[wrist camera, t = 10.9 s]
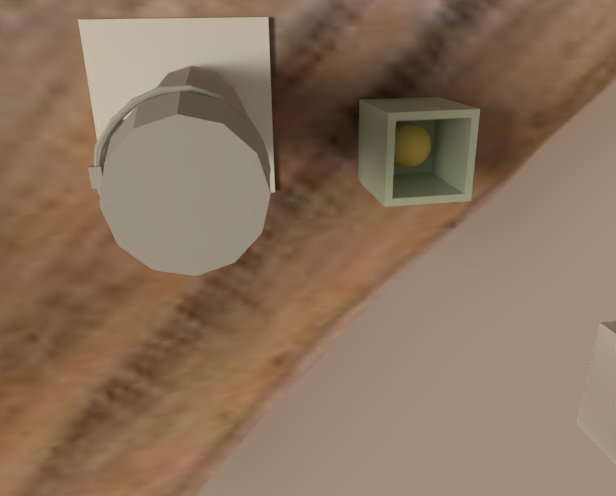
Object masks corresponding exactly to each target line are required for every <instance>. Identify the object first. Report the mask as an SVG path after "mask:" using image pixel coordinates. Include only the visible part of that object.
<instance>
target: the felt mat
mask: <svg viewBox="0 0 616 496" xmlns="http://www.w3.org/2000/svg"><path fill="white" fill-rule="evenodd" d="M78 22H79V28H80V35H81V41H82V47H83V54H84V60H85V66H86V73H87V79H88V85H89V92H90V98H91V104H92V111H93V117H94V123H95V130H96V136H97V141H98V140H99V138H100V136H101V135H102V133H103V131H104V129H105V128H106V126H107V124H108V123H109V121H110V119H111V118H112V117H113V116H115V115H116V114H117V113H118V112H119V111H120V110H121V109H122V108H123V107H124V106H125V105H126V104H127V103H128V102H129V101H130V100H131V99H133V98H135V97H137V96H139V95H141V94H144V93H146V92H148V91H150V90H152V89H155V88H156V87H157V86H158V85H159V84H160V82H161V81H162V80H163V79H164V78H165V76H166V75H167V74H168V73H170V72H173V71H176V70H179V69H182V68H185V67H188V66H191V65H192V66H196V67H200V68H205V69H209V70H213V71H216V72H217V73H218V74H219V75H220V76H221V77H223V78H224V79H225V80H226V81H227V82H228V83H229V84H230V85H231V86H232V87H234V89H235V91H236V93H237V95H238V97H239V99H240V101H241V103H242V105H243V107H244V109H245V111H246V113H247V115H248V116H249V118H250V120H251V121H252V123H253V124H254V125H255V127H256V128H257V130H258V132H259V134H260V136H261V137H262V139H263V141H264V144H265V147H266V150H267V153H268V157H269V164H270V167H271V172H270V191H271V192H275V177H274V150H273V124H272V98H271V72H270V46H269V20H268V17H238V18H163V19H88V20H78ZM134 109H135V108H134ZM134 109H133V110H134ZM133 110H132V111H133ZM132 111H130V112H129V113H128V114H127V115H126V116H125V117H124V118H123V119H122V120H124V119H126V118H127V117H128V116H129V115H130V114H131V112H132ZM104 149H105V148H104ZM103 153H104V152H103Z"/></svg>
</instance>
